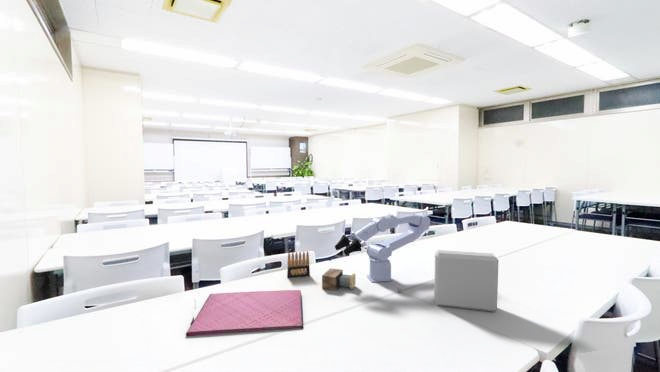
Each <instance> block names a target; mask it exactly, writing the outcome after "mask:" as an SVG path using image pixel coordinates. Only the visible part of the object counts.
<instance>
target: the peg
mask: <svg viewBox="0 0 660 372" xmlns="http://www.w3.org/2000/svg"><path fill="white" fill-rule="evenodd" d="M339 285H341V286H343V287H349V289H350V290H353V289H354V288H355V286H356V273H353V274H341V275H340V276H339ZM341 286H340V287H341Z"/></svg>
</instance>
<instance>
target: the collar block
mask: <svg viewBox="0 0 660 372" xmlns="http://www.w3.org/2000/svg"><path fill="white" fill-rule="evenodd" d="M343 273H344V272H343V269H339V268H329V269H327V271H325V273H324V274H322V275H321V288H322V289H323V290H330V291H337V290H339V288H340V287H341V285H339V276H340V275H341V274H343Z"/></svg>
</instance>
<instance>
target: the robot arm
mask: <svg viewBox="0 0 660 372" xmlns="http://www.w3.org/2000/svg"><path fill="white" fill-rule="evenodd" d="M405 224H407V231H405V232H403V233H401V234H399V235H397V236H394V237H393V238H390V239H388V240H386V241H384V242H377V243H370V244H369V245H368V246H367V243H366V242H367V241H368V240H370V239H371V238H373V237H374V236H376V235H377V234H378V233H380V232H381V233H385V232H386V231H387V230H391V229H394V228H398V226H399V225H405ZM430 226H431V219H430V217H429V216H427V215H421V214H415V213H410V214H406V215H402V216H399V217H398V216H396V215H394V214H389V215H388V216H381V217H380V218H379V217H372V218H371V219H370V221H369V223H367V224H366V225H364V226H363V227H362V228H360V229H358V230H357V231H355V232H354V231H351V233H350V234H342V236H341V237H340V239H339V241H338V242H337V243H336V244H335V245H334V249H335V251H340V250H341V249H343V248H344V249H343V250H342V251H343V253H344V256H345V255H349V254H351V253H355V252H362V250H363V249H362V248H364V247H366V246H367V247H366V254H367V256H368V259H369V274H367V275H366V277H367V278H368V279H369V281H370V282H371V283H377V282H391V281H392V264H391V261H390V259H389V258H390V257H392V254H393V252H394V251H396V250H398V249H400V248H402V247H404V246H406V245H408V244H411V243H412V242H415V241H416V240H418V239H419V238H420V237H421V236H422V235H423V234H424V232H426V231H428V230H429V229H430ZM350 242H351V243H350Z"/></svg>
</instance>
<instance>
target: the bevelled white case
mask: <svg viewBox="0 0 660 372" xmlns="http://www.w3.org/2000/svg"><path fill="white" fill-rule="evenodd" d="M433 283H434V285H433V287H434V289H433V290H434V292H433V293H434V295H433V297H434V303H435V304H436V306H439V307H449V308H458V309H467V310H477V311H482V312H483V311H484V312H495V311H496V310H497V309H498V293H499V292H498V287H499V285H498V284H499V259H498V258H497V257H496V256H495V255H494V254H493V253H492V252H491V253H490V252H489V253H487V252H473V251H455V250H441V249H438V250H436V251H435V252H434V282H433Z"/></svg>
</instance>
